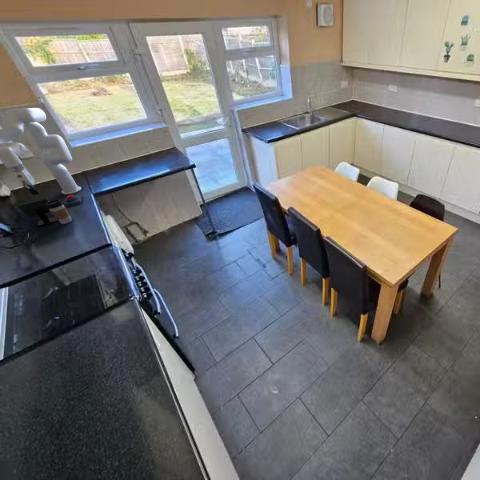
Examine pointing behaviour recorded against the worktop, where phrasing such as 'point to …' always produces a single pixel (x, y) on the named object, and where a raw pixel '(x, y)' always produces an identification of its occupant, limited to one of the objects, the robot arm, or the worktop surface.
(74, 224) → the worktop surface
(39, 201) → the screen
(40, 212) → the monitor stand
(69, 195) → the power button
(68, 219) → the coffee cup
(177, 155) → the worktop surface
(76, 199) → the switch box
